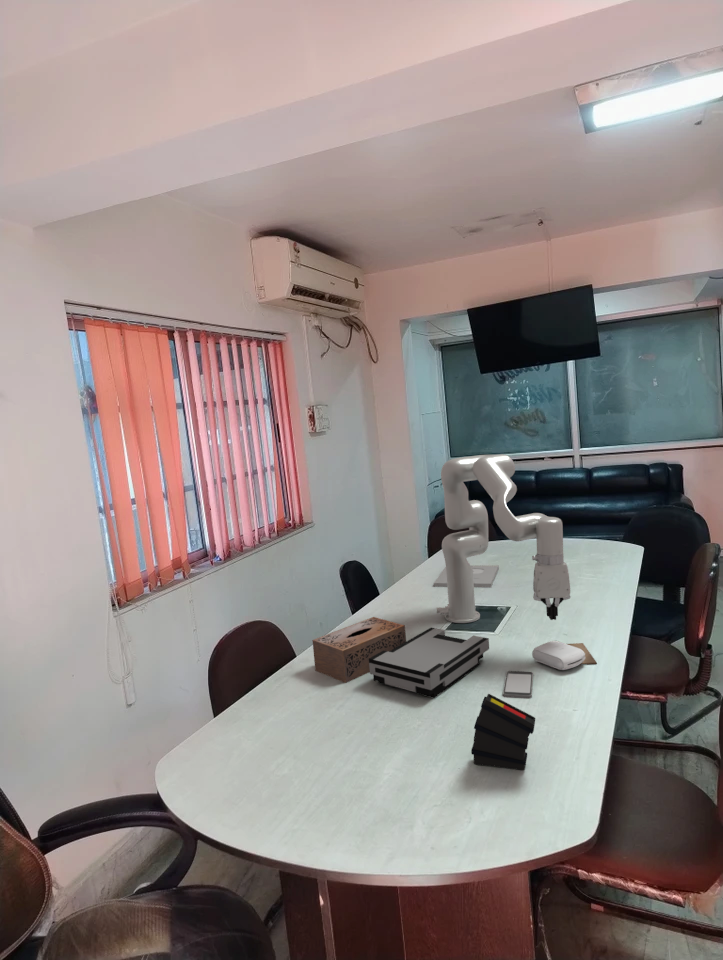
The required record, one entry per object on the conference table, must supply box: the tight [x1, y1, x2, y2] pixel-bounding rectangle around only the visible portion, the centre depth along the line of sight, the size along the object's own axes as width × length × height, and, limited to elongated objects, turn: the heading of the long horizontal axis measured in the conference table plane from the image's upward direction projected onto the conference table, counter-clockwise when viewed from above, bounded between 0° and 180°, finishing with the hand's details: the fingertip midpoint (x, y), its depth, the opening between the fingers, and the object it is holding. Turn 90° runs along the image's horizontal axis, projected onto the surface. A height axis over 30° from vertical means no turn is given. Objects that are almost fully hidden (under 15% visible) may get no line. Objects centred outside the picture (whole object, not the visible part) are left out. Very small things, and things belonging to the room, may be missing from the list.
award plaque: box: [433, 564, 500, 589], centre depth 280 cm, size 25×30×2 cm
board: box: [567, 642, 598, 666], centre depth 187 cm, size 12×15×1 cm
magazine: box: [471, 693, 536, 771], centre depth 133 cm, size 4×13×15 cm, turn 70°
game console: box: [369, 627, 490, 699], centre depth 182 cm, size 21×32×8 cm, turn 140°
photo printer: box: [531, 640, 585, 671], centre depth 181 cm, size 10×4×12 cm
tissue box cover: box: [312, 616, 407, 684], centre depth 193 cm, size 26×14×10 cm, turn 132°
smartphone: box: [502, 670, 534, 699], centre depth 170 cm, size 7×1×15 cm
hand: (552, 618), depth 187 cm, fingers closed
